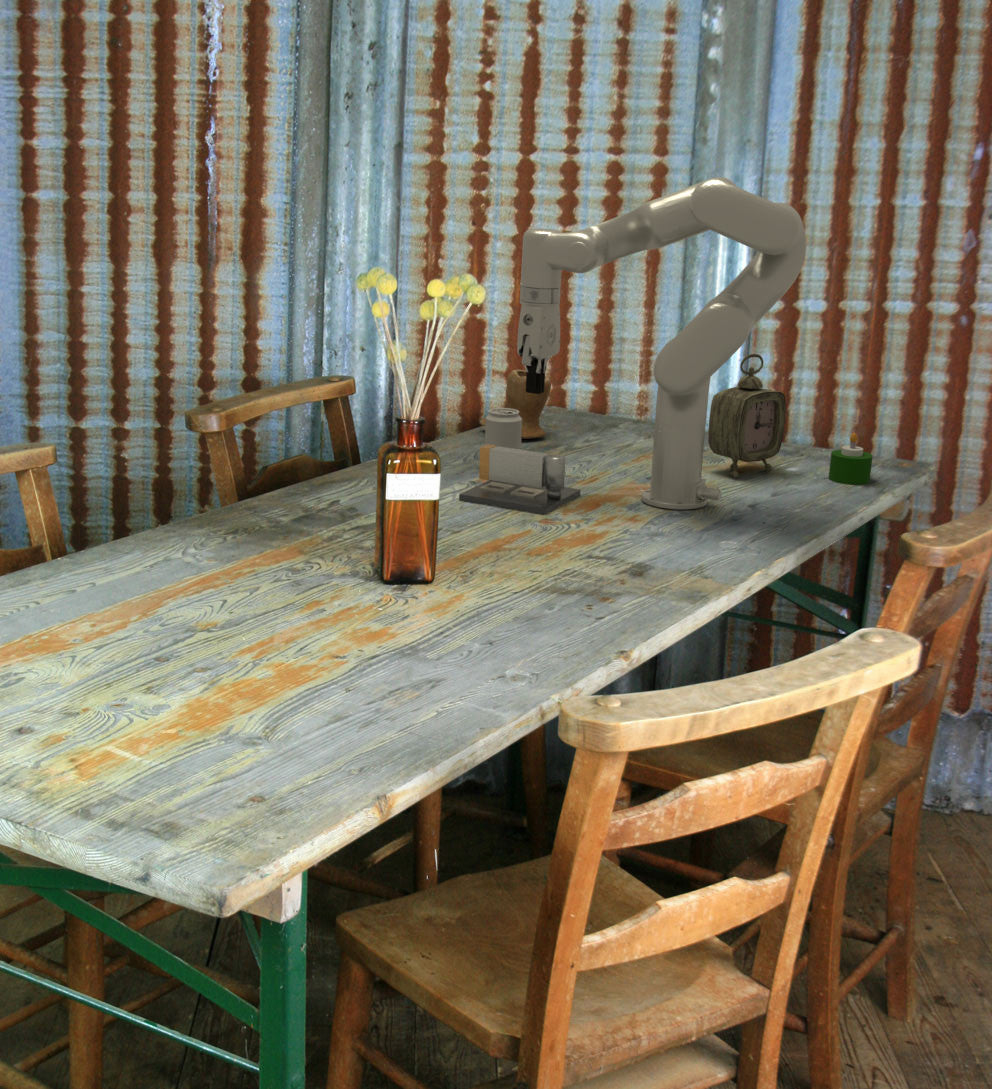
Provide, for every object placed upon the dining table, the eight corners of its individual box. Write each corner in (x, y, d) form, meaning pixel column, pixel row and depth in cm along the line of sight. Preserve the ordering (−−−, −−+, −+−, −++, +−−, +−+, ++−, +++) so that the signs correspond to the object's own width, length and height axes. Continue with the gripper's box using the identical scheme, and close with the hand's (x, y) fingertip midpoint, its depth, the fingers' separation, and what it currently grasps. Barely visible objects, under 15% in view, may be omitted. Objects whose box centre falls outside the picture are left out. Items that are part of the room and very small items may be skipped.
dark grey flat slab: (580, 495, 257) (581, 481, 256) (545, 514, 243) (546, 500, 243) (497, 482, 265) (497, 468, 264) (459, 500, 251) (459, 485, 250)
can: (520, 471, 273) (522, 414, 270) (483, 470, 274) (485, 413, 270) (520, 463, 281) (522, 407, 277) (484, 461, 281) (486, 405, 277)
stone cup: (558, 439, 304) (562, 374, 299) (516, 444, 297) (518, 378, 293) (520, 426, 316) (523, 363, 311) (478, 431, 309) (480, 367, 305)
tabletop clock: (734, 481, 271) (745, 359, 264) (701, 472, 278) (711, 353, 270) (780, 472, 280) (791, 354, 273) (746, 463, 287) (757, 348, 279)
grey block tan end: (567, 487, 251) (568, 455, 249) (559, 491, 248) (560, 459, 246) (487, 475, 258) (488, 443, 256) (478, 479, 255) (479, 447, 253)
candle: (835, 473, 281) (840, 426, 278) (874, 479, 277) (879, 432, 274) (823, 480, 274) (828, 433, 272) (862, 487, 270) (868, 439, 268)
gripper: (541, 302, 242) (535, 401, 247) (574, 294, 255) (568, 389, 260) (504, 298, 245) (499, 396, 250) (539, 291, 258) (533, 384, 263)
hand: (534, 392), depth 255 cm, fingers closed
